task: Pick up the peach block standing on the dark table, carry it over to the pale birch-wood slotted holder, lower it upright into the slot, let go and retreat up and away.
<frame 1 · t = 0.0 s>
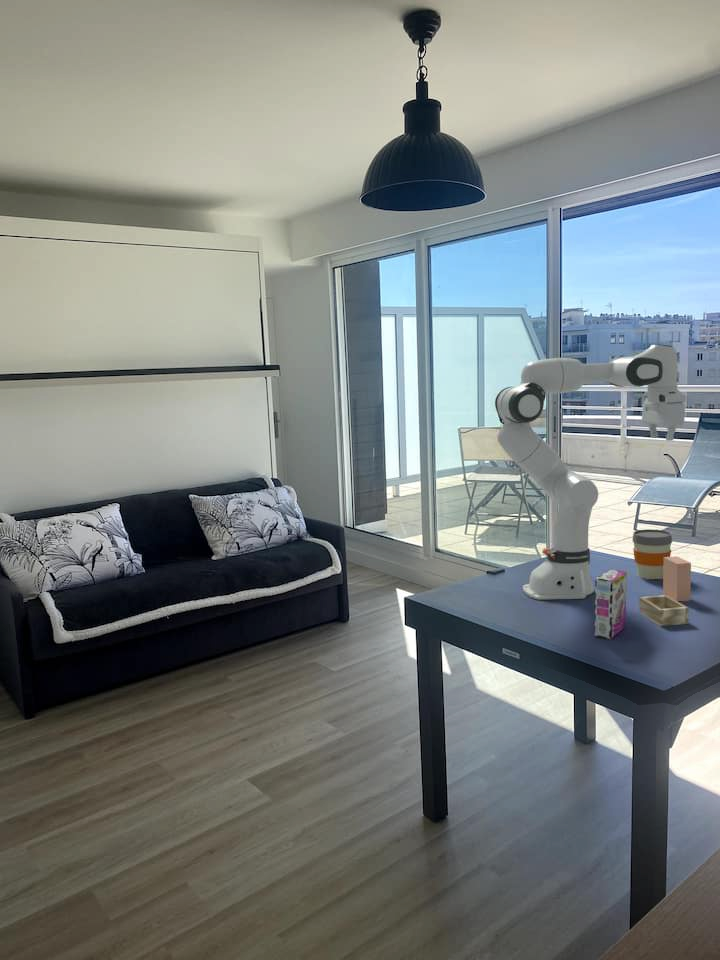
hand: (661, 439, 235), 48 cm above the table, fingers open, 8 cm apart
candy bar box: (610, 632, 201), on the table
peach block: (676, 597, 227), on the table
reusable coffee cup: (651, 576, 250), on the table
slot holder: (663, 617, 210), on the table
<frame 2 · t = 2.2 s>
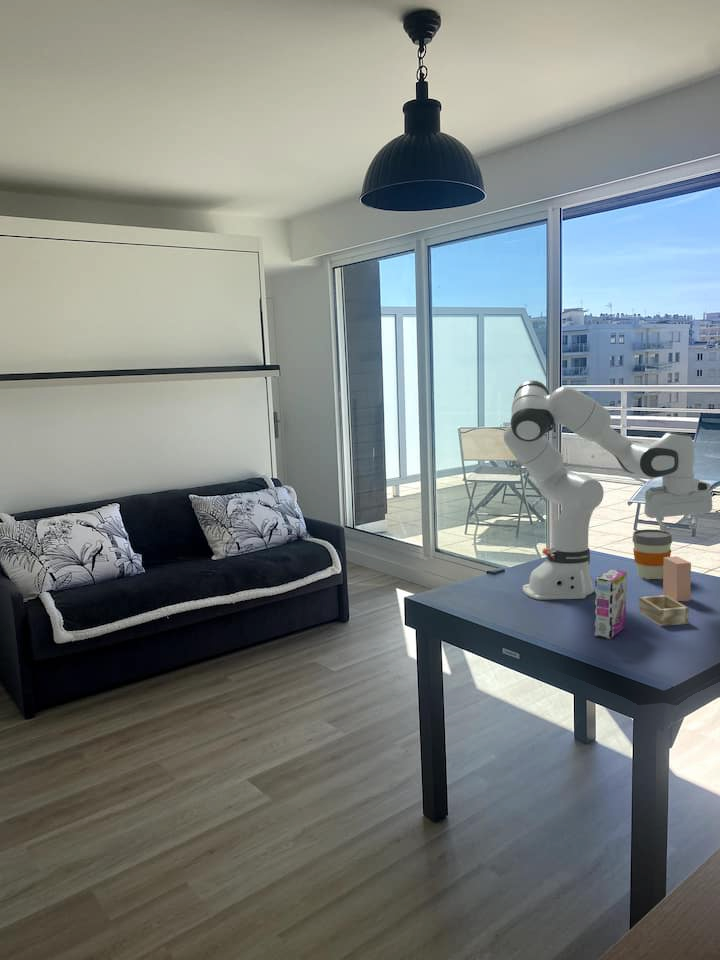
hand: (678, 529, 224), 22 cm above the table, fingers open, 8 cm apart
nothing on the table moved.
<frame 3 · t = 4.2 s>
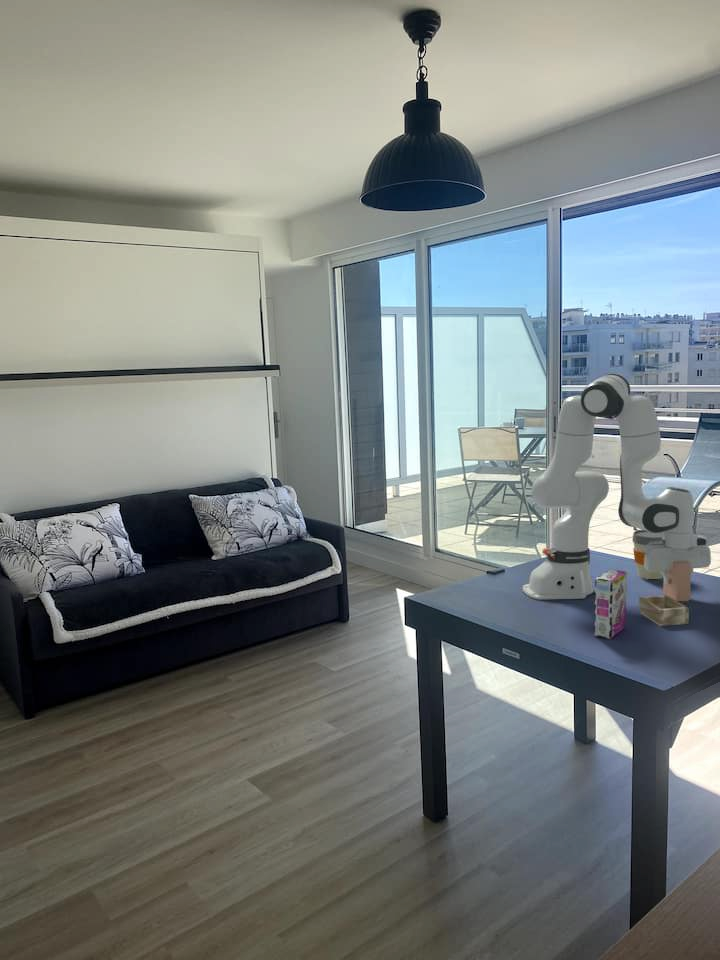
hand: (676, 583, 226), 5 cm above the table, fingers closed on peach block, 4 cm apart
peach block: (676, 597, 227), on the table, touching gripper
everything else where it was.
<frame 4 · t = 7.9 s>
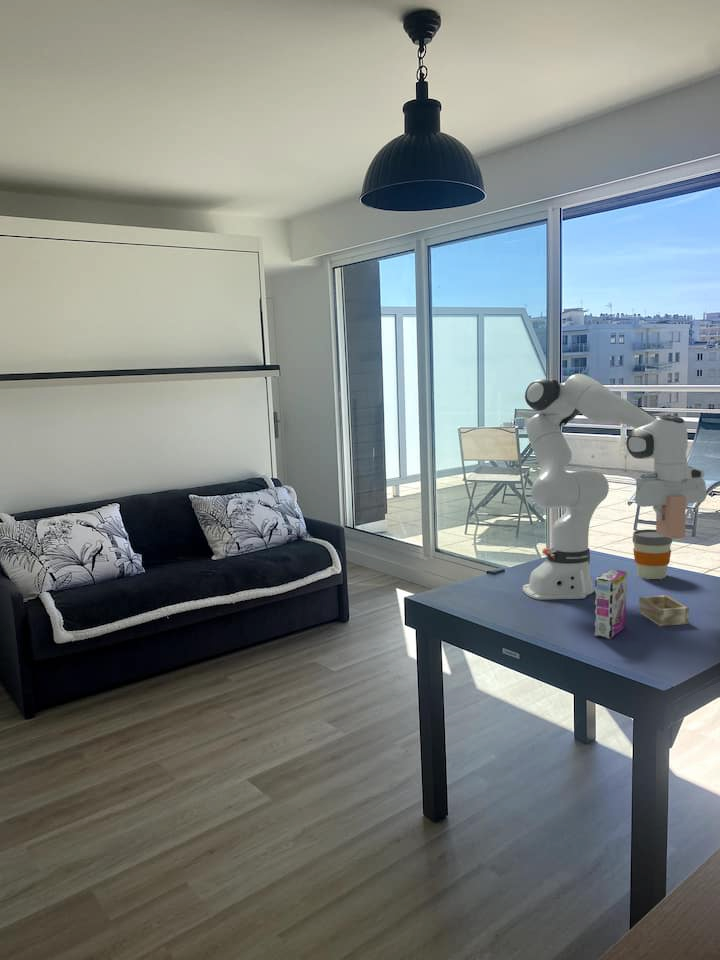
hand: (670, 519, 212), 27 cm above the table, fingers closed on peach block, 4 cm apart
peach block: (670, 535, 212), point 23 cm above the table, touching gripper
everything else where it was.
when the fingers open (7 cm above the table, at t = 11.4 s): peach block drops 1 cm, resting on slot holder.
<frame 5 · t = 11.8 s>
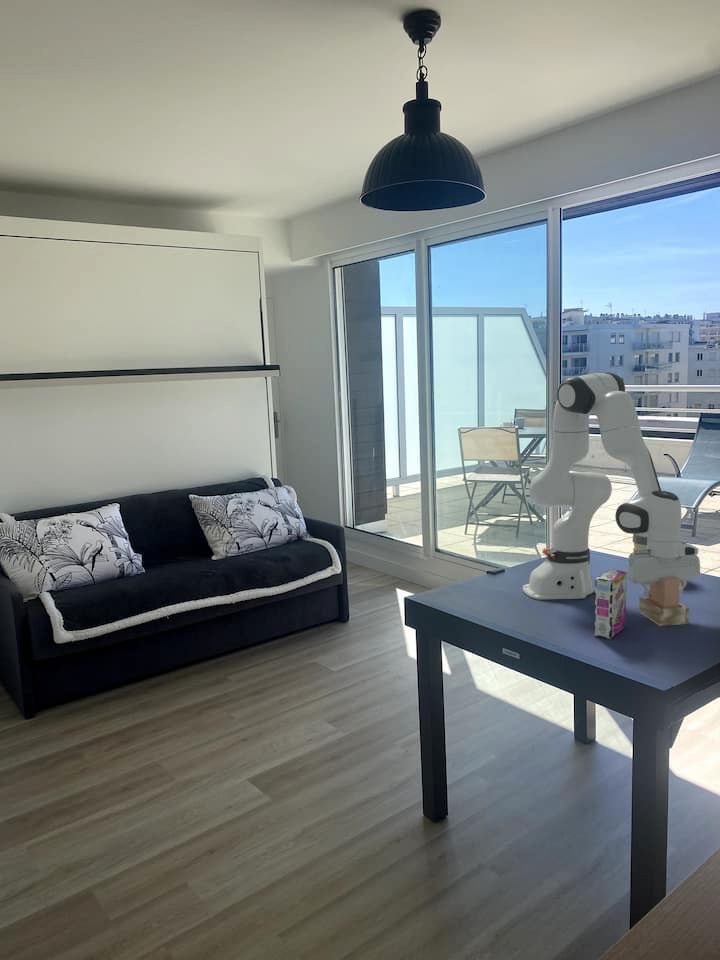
hand: (663, 595, 209), 7 cm above the table, fingers open, 8 cm apart
peach block: (663, 615, 210), point 1 cm above the table, touching slot holder
everything else where it was.
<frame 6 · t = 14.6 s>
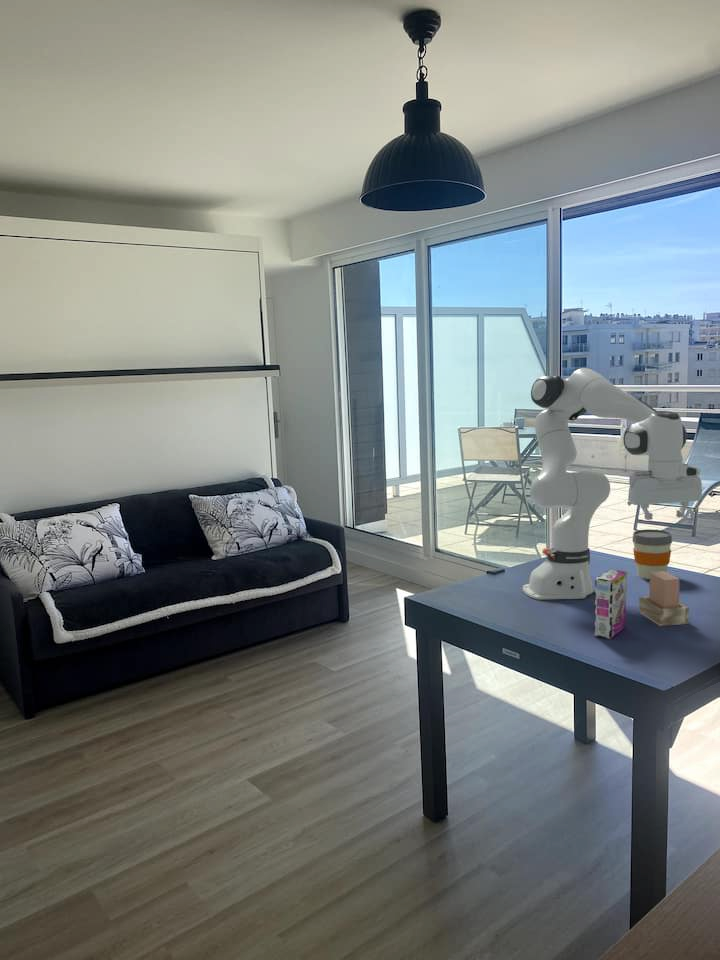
hand: (664, 518, 206), 29 cm above the table, fingers open, 8 cm apart
nothing on the table moved.
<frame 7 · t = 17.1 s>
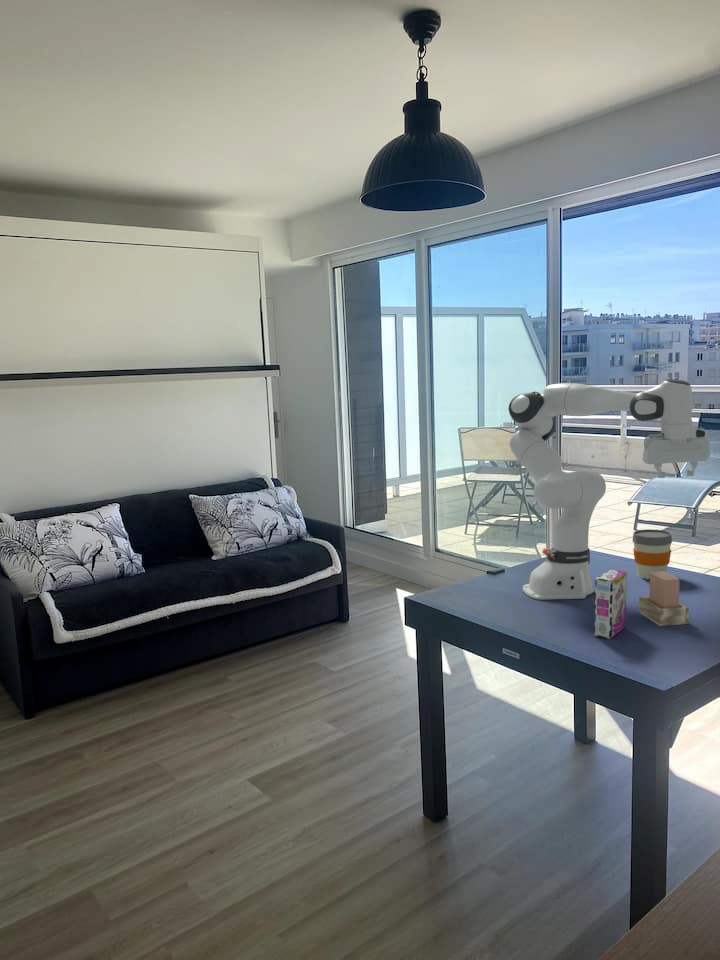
hand: (675, 476, 226), 37 cm above the table, fingers open, 8 cm apart
nothing on the table moved.
at the end: peach block 0.1 cm off-centre on the slot holder, point 0.6 cm above the slot holder's base; peach block tilted 0°; the gripper is holding nothing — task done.
